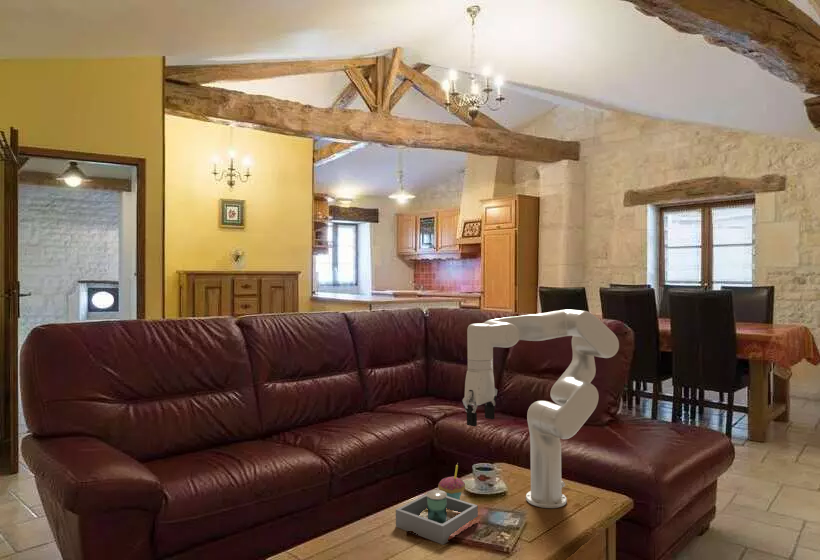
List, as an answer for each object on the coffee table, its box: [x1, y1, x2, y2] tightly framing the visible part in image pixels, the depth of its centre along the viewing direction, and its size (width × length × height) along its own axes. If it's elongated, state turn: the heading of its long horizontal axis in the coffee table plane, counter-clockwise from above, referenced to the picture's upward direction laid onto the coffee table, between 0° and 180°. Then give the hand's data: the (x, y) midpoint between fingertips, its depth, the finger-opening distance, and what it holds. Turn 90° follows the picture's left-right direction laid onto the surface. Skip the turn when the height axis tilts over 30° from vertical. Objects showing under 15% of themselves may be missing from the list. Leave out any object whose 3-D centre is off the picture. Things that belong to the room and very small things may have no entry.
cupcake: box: [437, 462, 466, 500], centre depth 181 cm, size 9×8×12 cm
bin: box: [395, 493, 479, 546], centre depth 164 cm, size 17×17×5 cm
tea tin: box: [426, 489, 447, 523], centre depth 163 cm, size 6×6×8 cm
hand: (480, 422), depth 169 cm, fingers open, 9 cm apart
